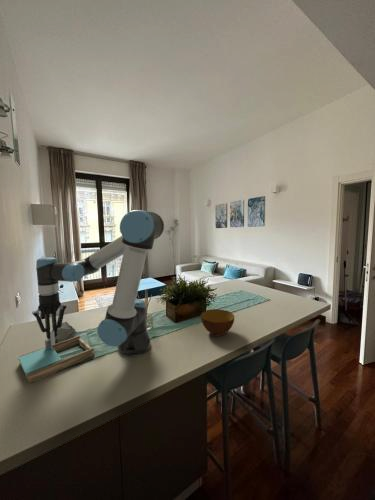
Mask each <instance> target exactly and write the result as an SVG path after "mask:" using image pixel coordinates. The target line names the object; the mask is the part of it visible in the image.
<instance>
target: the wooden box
mask: <svg viewBox="0 0 375 500" xmlns="http://www.w3.org/2000/svg"><path fill="white" fill-rule="evenodd" d="M77 345H79V346H81V347H82V348H83V349H84V350H83V351H81V352H79V353H77V354H73V355H71V356H69V357H66V358H64V359H62V360H61V361H59V362H56V363H54V364H51V365H49V366H47V367H44V368H42V369H39V370H37V371H34V372H32V373H29V374H28V375H27V376H26V374H25V372H24V370H23V368H22V366H21V364H20V363H19V364H20V366H21V369H22V371H23V373H24V375H25V377H26V379H27V381H28V384H31V383H34V382H36V381H38V380H40V379H42V378H45V377H47V376H49V375H52V374H54V373H56V372H59V371H60V370H63V369H66V368H68V367H71V366H73V365H75V364H78V363H80V362H81V361H85V360H87V359H89V358H91V357H94V356H95V348H94V347H91V346H90V345H89V344H88V343H87V342H85V341H84V340H83V339H82V338H81V337H80V335H77V336H76V335H75V336H74V337H72V338H69V339H68V340H65V341H62V342H59V343H58V342H55V345H54V346H52V348H53V349H54V350H55V351H56V353H57V352H60V351H62V350H63V351H64V350H65V349H66V350H67V349H68V348H71V347H74V346H77ZM44 348H45V347H43V348H39V349H36V350H34V351H30V352H27V353H26V354H22V355H20V356H19V357H21V356H24V355H27V354H30V353H33V352H36V351H39V350H41V349H44ZM19 357H18V358H19Z"/></svg>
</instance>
